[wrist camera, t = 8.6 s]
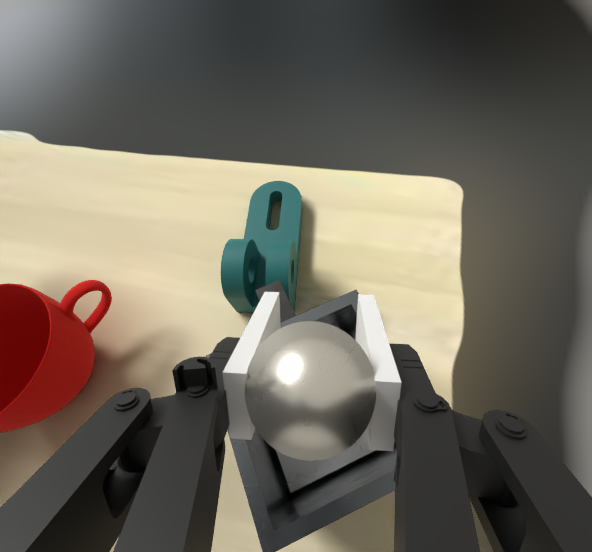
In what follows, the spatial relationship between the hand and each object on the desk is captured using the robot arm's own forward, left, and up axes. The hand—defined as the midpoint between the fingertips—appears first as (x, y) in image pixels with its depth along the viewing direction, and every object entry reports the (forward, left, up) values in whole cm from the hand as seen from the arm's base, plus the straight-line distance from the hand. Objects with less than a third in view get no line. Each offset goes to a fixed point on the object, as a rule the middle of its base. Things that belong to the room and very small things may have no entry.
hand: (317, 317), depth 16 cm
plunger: (+3, -2, -12) cm, 13 cm away
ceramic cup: (-13, -25, -19) cm, 34 cm away
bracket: (-17, +1, -19) cm, 25 cm away
